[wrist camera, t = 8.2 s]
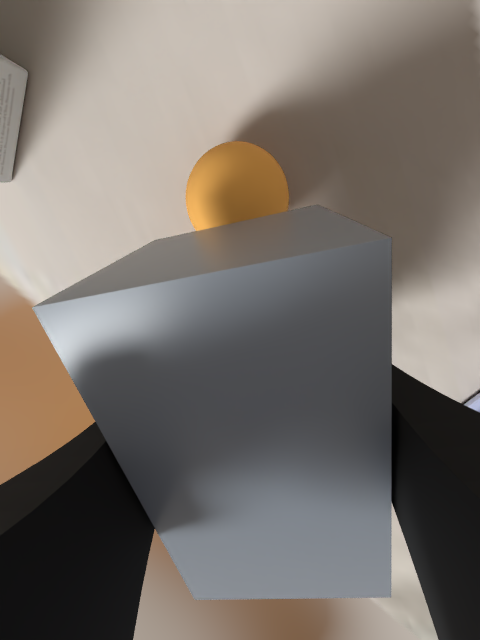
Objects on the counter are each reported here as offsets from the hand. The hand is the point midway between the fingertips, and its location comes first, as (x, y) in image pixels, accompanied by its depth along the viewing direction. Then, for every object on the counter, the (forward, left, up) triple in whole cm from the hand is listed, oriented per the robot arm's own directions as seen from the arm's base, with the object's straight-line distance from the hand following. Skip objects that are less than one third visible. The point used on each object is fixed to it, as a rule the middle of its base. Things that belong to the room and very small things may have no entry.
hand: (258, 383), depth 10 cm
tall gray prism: (0, 0, -3) cm, 2 cm away
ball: (+4, -4, -7) cm, 9 cm away
